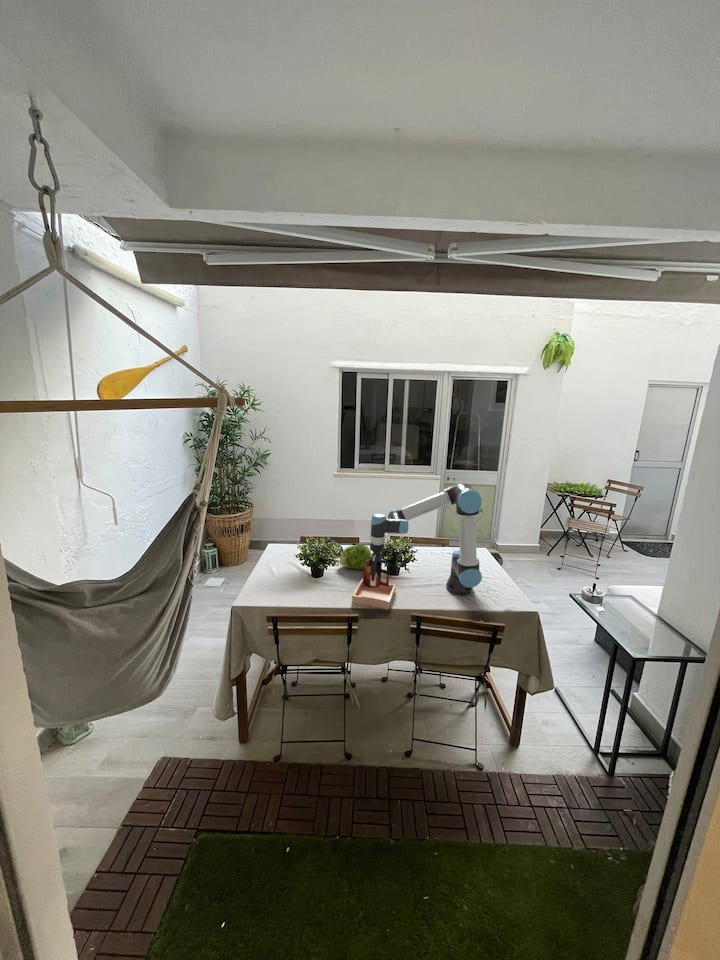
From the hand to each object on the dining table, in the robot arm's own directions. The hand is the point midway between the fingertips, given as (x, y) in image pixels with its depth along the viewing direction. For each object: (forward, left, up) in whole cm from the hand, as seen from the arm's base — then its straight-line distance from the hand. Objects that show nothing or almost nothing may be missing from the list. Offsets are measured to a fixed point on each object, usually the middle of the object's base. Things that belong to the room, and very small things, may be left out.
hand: (374, 581), depth 222 cm
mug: (0, 0, -2) cm, 2 cm away
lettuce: (+20, -33, -10) cm, 40 cm away
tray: (0, 0, -10) cm, 10 cm away
